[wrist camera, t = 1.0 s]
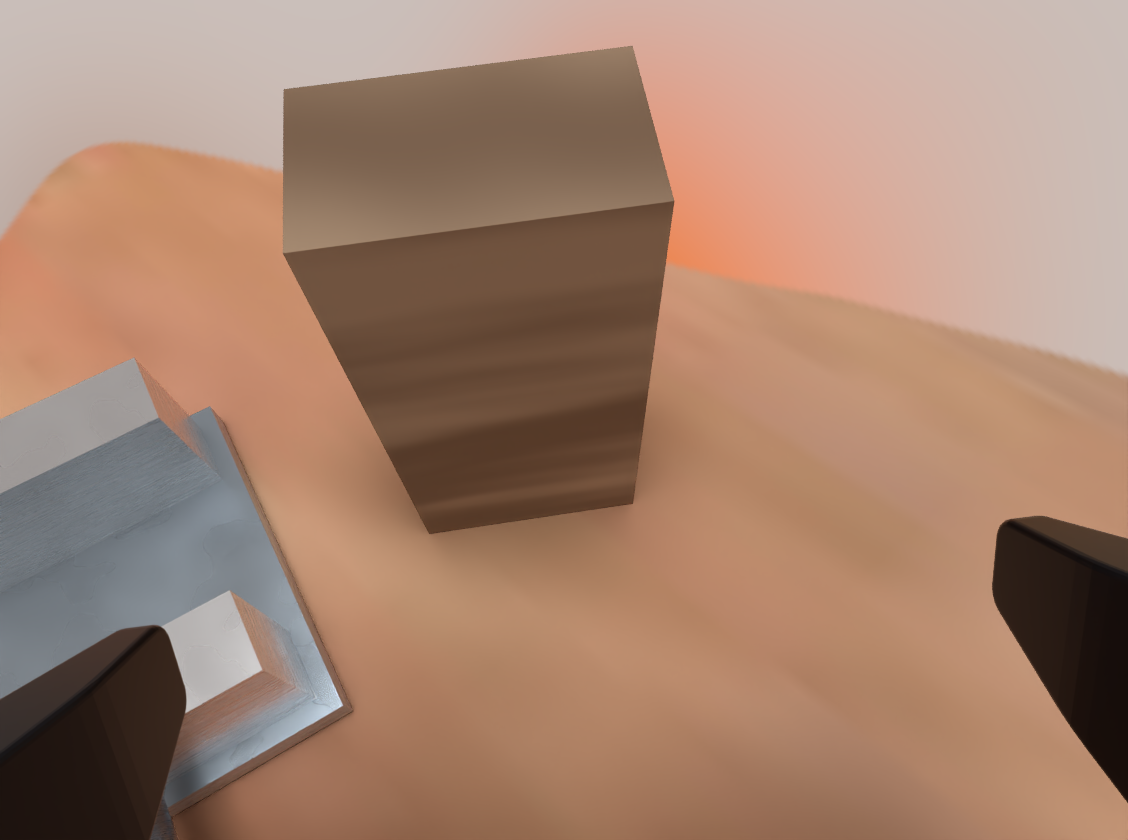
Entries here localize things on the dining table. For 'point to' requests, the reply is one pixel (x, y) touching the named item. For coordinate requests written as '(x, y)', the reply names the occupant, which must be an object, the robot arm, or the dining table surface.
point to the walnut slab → (488, 273)
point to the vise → (157, 572)
